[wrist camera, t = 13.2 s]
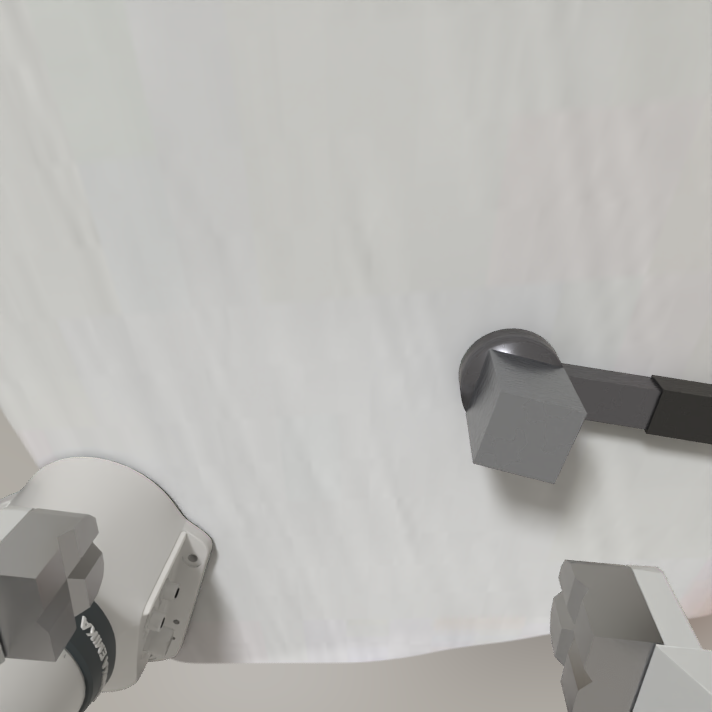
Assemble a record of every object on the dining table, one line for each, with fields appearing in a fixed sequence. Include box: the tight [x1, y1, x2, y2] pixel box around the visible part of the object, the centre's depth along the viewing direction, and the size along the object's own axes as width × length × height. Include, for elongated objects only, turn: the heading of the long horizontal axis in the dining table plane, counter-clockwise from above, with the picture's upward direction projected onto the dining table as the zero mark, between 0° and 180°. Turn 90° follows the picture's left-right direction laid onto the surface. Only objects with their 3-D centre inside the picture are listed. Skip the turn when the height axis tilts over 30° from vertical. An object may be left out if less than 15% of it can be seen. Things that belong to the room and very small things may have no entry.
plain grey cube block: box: [466, 349, 587, 484], centre depth 38 cm, size 5×5×6 cm
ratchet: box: [459, 329, 712, 444], centre depth 40 cm, size 7×19×6 cm, turn 82°
